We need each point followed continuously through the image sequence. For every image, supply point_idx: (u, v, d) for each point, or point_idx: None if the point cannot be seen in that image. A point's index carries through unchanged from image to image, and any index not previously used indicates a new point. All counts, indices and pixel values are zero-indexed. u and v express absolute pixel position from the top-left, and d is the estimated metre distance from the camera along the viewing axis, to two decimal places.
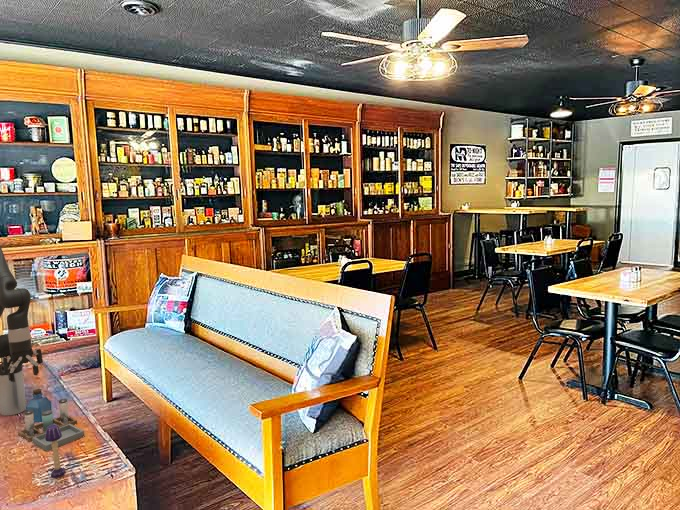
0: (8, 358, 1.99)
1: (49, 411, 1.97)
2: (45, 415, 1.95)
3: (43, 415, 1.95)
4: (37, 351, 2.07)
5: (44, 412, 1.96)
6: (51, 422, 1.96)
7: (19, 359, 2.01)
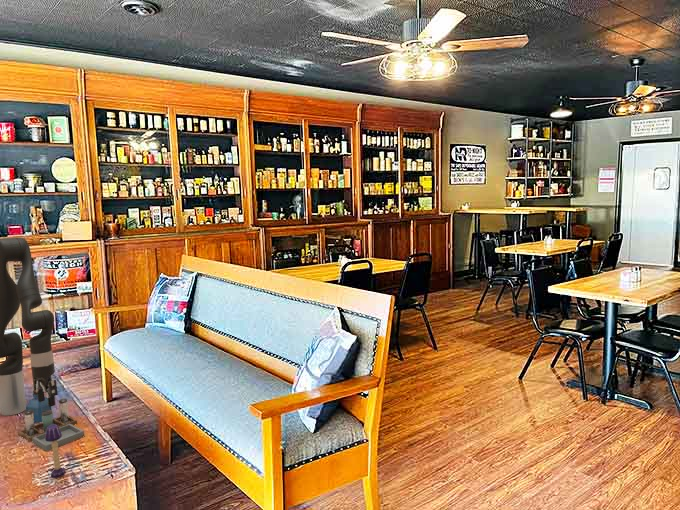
0: None
1: (49, 411, 1.97)
2: (45, 415, 1.95)
3: (43, 415, 1.95)
4: None
5: (44, 412, 1.96)
6: (51, 422, 1.96)
7: None
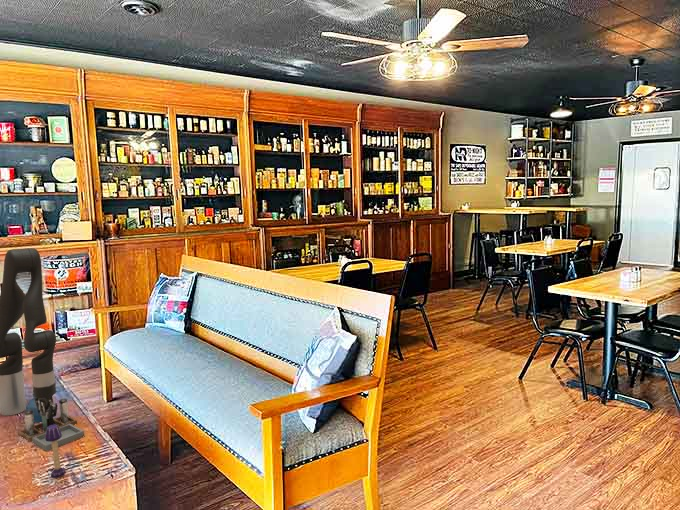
0: None
1: None
2: (45, 415, 1.95)
3: (43, 415, 1.95)
4: None
5: None
6: None
7: None
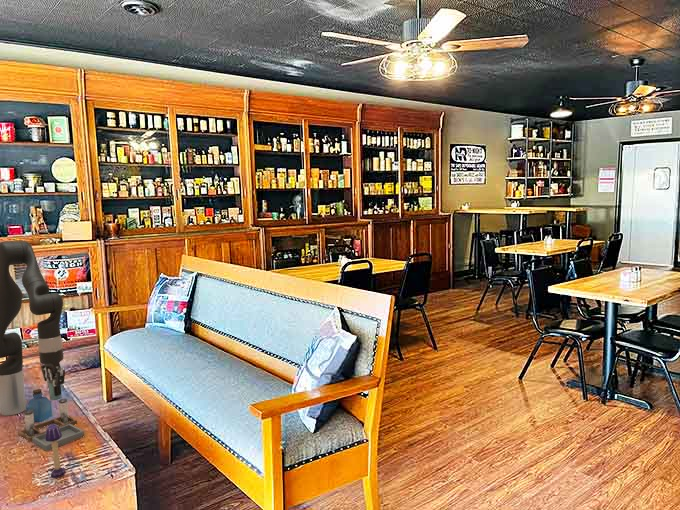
0: None
1: None
2: (52, 383, 1.84)
3: (50, 383, 1.84)
4: None
5: (51, 380, 1.85)
6: None
7: None
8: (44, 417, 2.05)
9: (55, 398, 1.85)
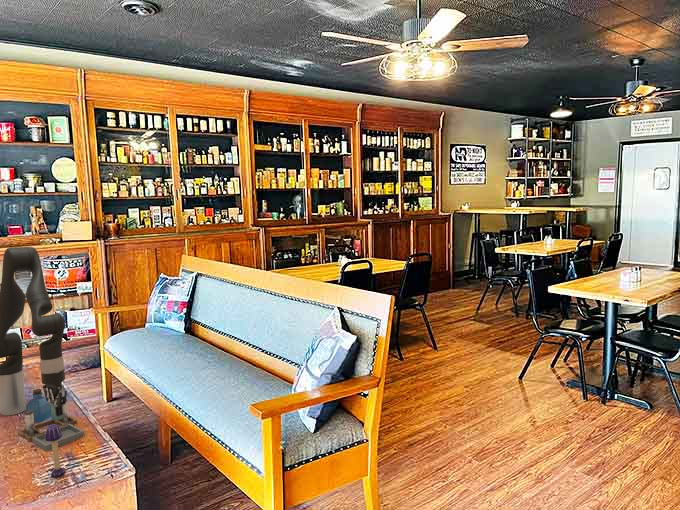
0: None
1: None
2: (54, 403, 1.85)
3: (52, 403, 1.85)
4: None
5: None
6: None
7: None
8: (44, 417, 2.05)
9: (57, 418, 1.86)
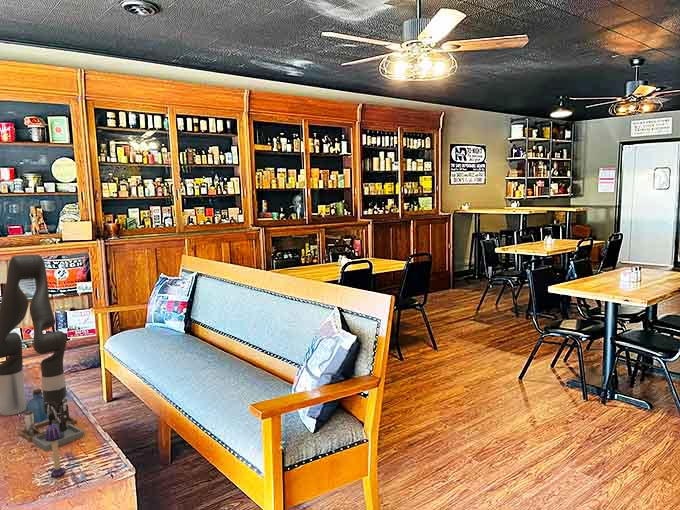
0: None
1: None
2: (55, 423, 1.86)
3: (53, 423, 1.86)
4: None
5: (54, 420, 1.87)
6: None
7: None
8: (44, 417, 2.05)
9: None
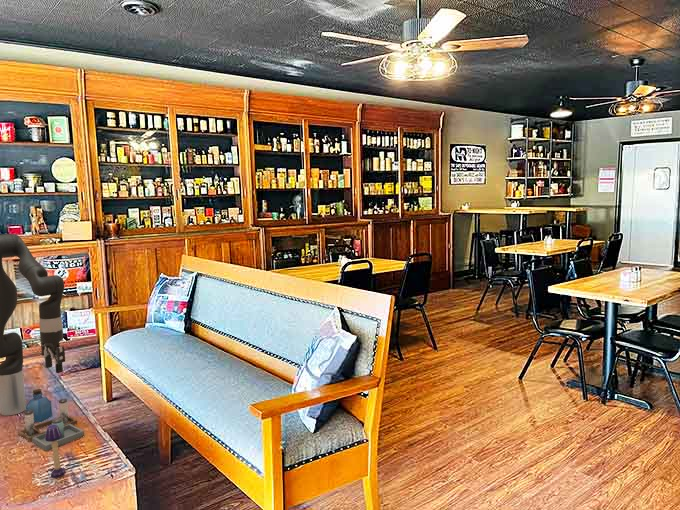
0: None
1: (60, 419, 1.88)
2: (56, 423, 1.86)
3: (53, 423, 1.86)
4: None
5: (54, 420, 1.88)
6: (61, 430, 1.88)
7: None
8: (44, 417, 2.05)
9: None
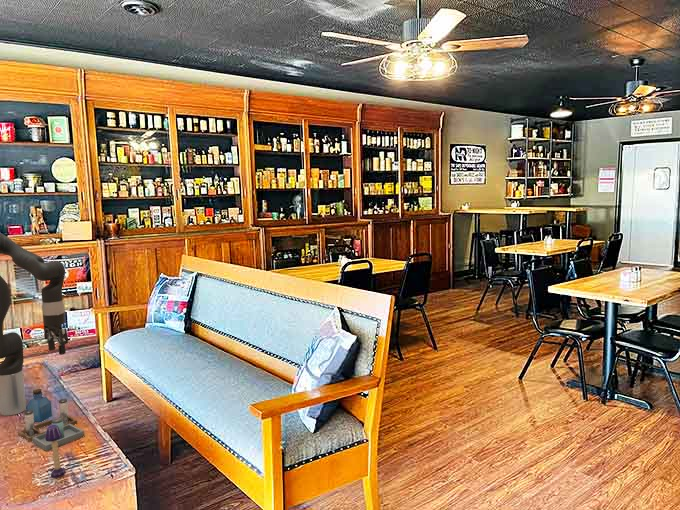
0: None
1: (60, 418, 1.88)
2: (56, 423, 1.86)
3: (54, 423, 1.86)
4: None
5: (54, 420, 1.88)
6: (62, 430, 1.88)
7: None
8: (44, 417, 2.05)
9: None
